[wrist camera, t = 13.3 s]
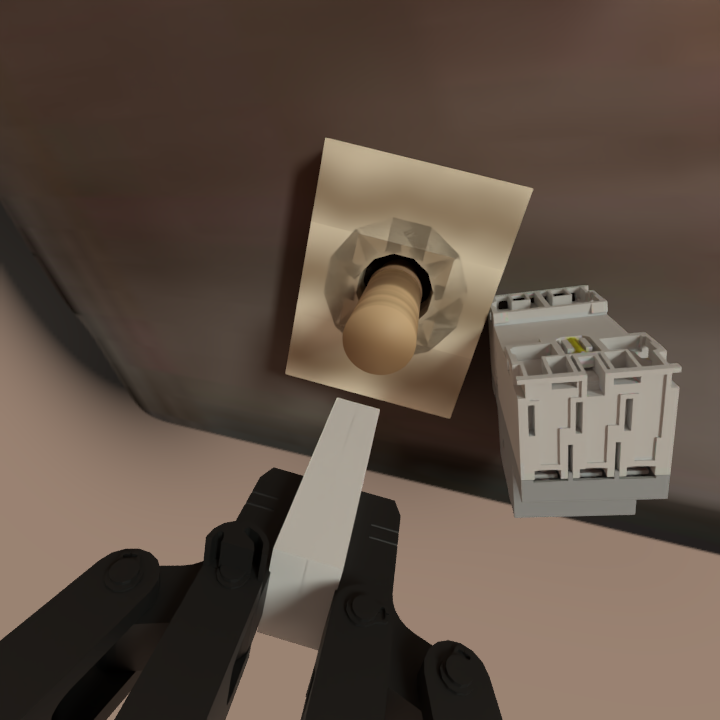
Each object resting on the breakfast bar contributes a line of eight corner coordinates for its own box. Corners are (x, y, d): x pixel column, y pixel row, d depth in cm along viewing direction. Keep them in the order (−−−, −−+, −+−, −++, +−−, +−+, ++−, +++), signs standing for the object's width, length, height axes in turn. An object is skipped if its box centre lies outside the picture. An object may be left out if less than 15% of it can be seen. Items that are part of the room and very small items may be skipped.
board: (337, 140, 34) (325, 137, 30) (522, 185, 33) (533, 188, 30) (298, 355, 41) (285, 373, 38) (448, 395, 41) (449, 418, 37)
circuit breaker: (496, 446, 42) (525, 582, 28) (486, 296, 37) (516, 375, 23) (583, 441, 40) (658, 582, 27) (586, 284, 35) (682, 362, 22)
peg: (379, 249, 36) (350, 296, 24) (429, 261, 36) (426, 316, 24) (368, 297, 38) (334, 364, 26) (415, 309, 38) (405, 384, 25)
